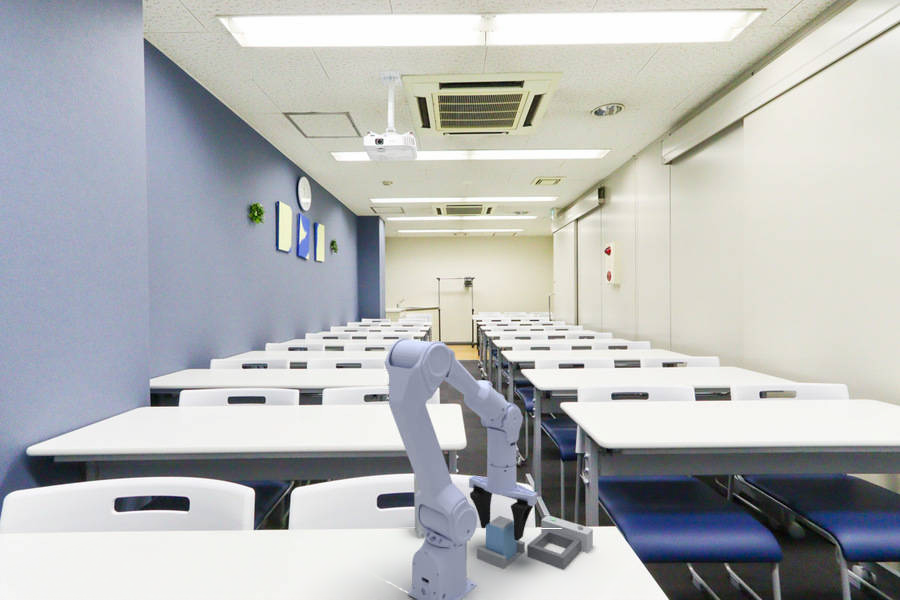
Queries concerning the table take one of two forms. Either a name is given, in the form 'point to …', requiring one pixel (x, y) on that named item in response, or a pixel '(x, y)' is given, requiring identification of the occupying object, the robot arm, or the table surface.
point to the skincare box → (417, 525)
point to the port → (560, 542)
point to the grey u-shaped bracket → (499, 556)
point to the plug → (501, 537)
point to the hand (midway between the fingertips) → (501, 532)
